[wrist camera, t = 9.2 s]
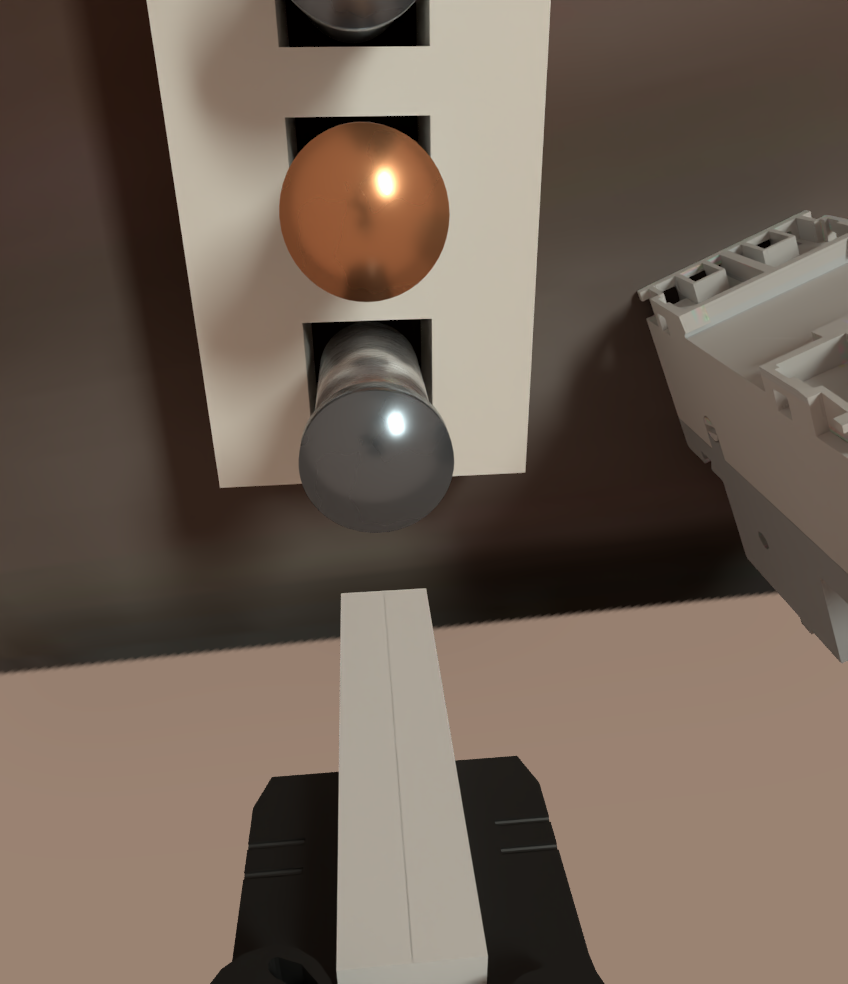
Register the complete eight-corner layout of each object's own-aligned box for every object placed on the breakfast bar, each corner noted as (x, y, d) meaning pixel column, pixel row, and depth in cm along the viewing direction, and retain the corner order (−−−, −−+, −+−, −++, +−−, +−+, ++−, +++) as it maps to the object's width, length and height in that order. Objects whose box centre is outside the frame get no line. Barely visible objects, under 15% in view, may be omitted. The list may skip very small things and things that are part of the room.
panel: (155, -168, 24) (111, -232, 20) (524, -163, 25) (562, -223, 21) (237, 438, 34) (220, 487, 29) (502, 426, 34) (525, 472, 30)
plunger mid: (293, 120, 26) (270, 123, 18) (420, 118, 26) (450, 120, 19) (304, 251, 28) (287, 304, 20) (421, 248, 28) (449, 299, 21)
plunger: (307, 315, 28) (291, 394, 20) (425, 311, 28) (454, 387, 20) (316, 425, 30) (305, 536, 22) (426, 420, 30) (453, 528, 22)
